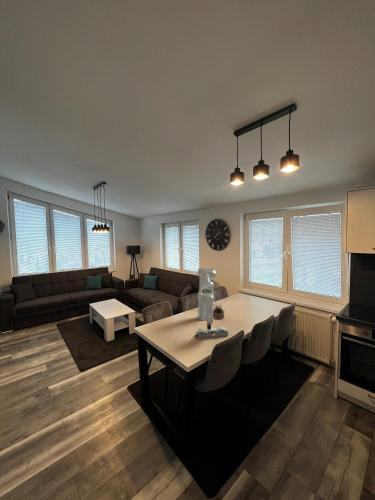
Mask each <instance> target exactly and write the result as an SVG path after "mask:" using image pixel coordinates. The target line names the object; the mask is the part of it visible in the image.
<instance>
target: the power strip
mask: <svg viewBox="0 0 375 500" xmlns="http://www.w3.org/2000/svg"><path fill="white" fill-rule="evenodd" d="M216 329H217V330H218V331H209V330H208V329H206V330H207V331H208V333H204V332H200V331H199V330H198V331H197V330H196V332H195V334H194V337H196V338H197V339H198V340H203V339H213V338H221V337H228V336H229V331H228V330H227V331H224V330H220V329H218V328H216Z"/></svg>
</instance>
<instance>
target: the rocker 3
mask: <svg viewBox="0 0 375 500" xmlns="http://www.w3.org/2000/svg"><path fill="white" fill-rule="evenodd" d="M216 329H220V330H224V331H228V329H227V328H225V327H223V326H217V328H216Z"/></svg>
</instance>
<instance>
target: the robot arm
mask: <svg viewBox="0 0 375 500" xmlns="http://www.w3.org/2000/svg"><path fill="white" fill-rule="evenodd" d="M197 275H198V277H199V288H198V292H197V298H198V300H197V301H198V309H197V310H198V316H197V317H196V319H197V320H198V321H206V324H207V325H206V330H208V329H211V328H212V323H214V300H215V294H214V289H215V288H214V287H215V286H214V282H212V281H211V280H212V279H216V278H217V277H216V276H217V272H216V270H215V269H214V268H213V267H200V268H198V269H197Z"/></svg>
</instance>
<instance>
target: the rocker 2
mask: <svg viewBox="0 0 375 500" xmlns="http://www.w3.org/2000/svg"><path fill="white" fill-rule="evenodd" d="M217 329H218V328H216V327H211V329H207V330H209V331H218V330H217Z"/></svg>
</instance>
